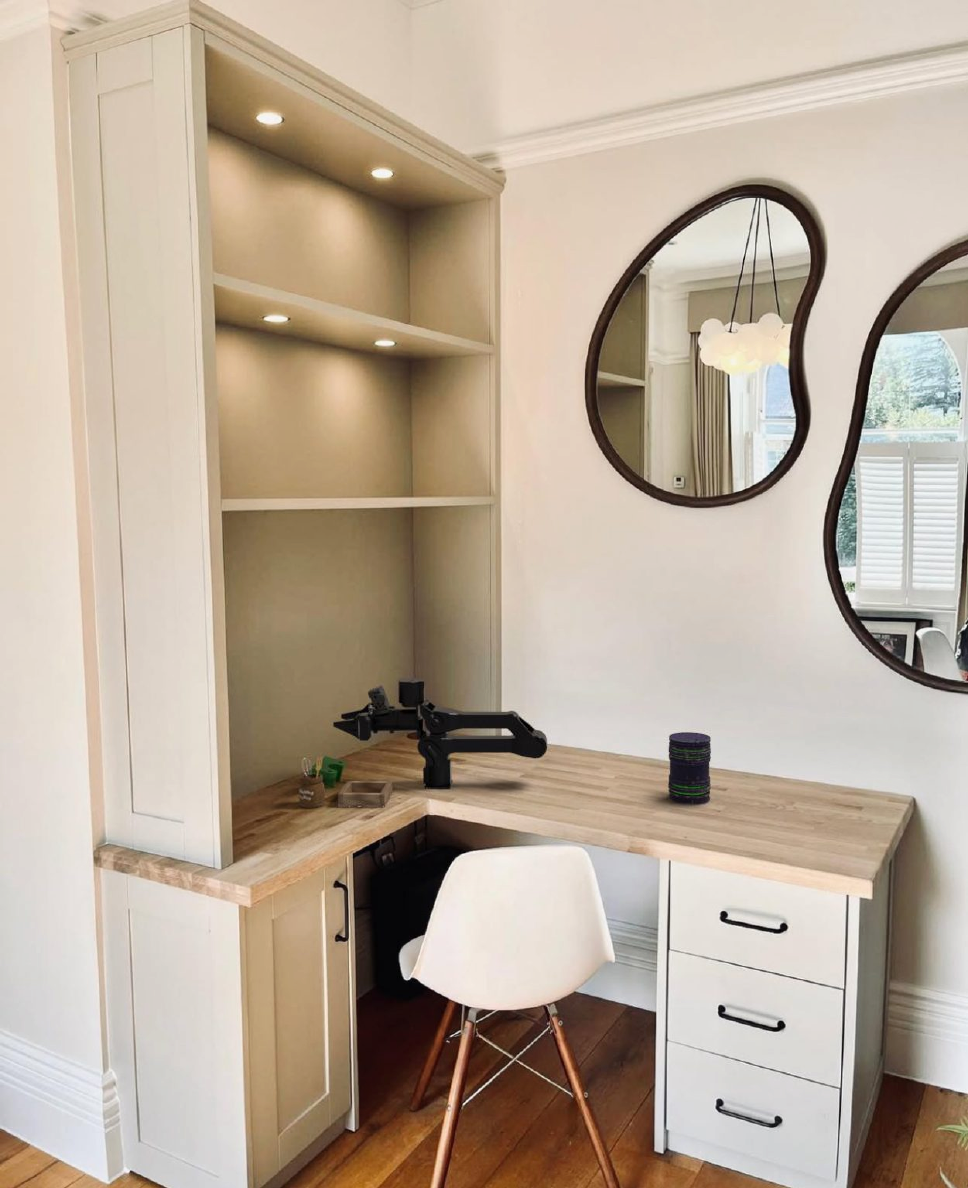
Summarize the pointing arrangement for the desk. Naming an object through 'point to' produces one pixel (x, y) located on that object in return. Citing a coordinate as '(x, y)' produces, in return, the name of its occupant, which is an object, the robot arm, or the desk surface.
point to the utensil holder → (312, 788)
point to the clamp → (330, 771)
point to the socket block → (365, 794)
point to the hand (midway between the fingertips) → (337, 720)
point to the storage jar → (689, 768)
